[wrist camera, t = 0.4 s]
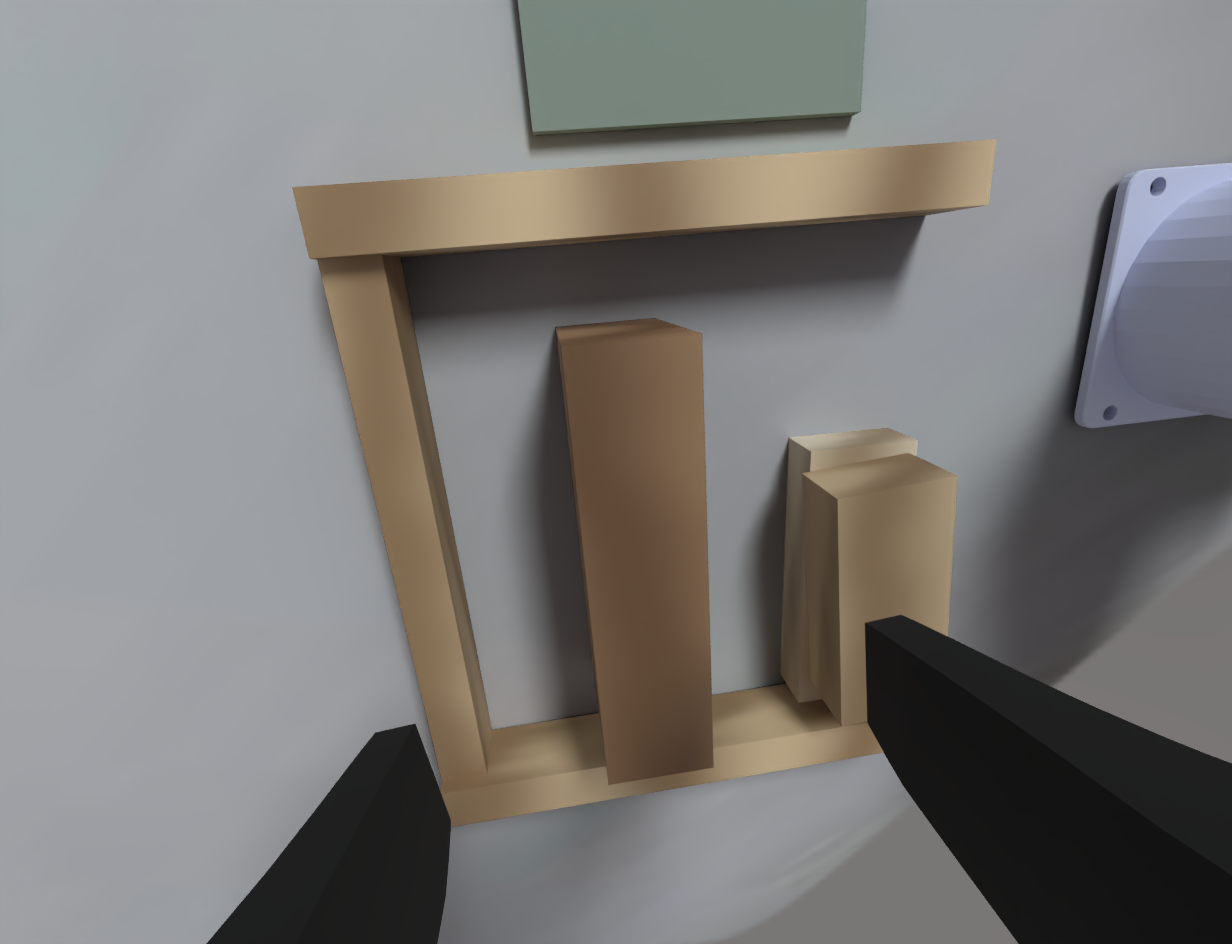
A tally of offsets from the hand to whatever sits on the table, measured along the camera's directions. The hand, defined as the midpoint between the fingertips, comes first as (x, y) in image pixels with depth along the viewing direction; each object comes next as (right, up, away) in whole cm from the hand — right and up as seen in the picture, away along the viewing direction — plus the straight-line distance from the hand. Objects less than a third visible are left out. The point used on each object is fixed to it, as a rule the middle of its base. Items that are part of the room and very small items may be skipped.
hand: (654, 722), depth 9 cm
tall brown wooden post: (-1, +3, +10) cm, 11 cm away
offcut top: (+7, 0, +10) cm, 13 cm away
